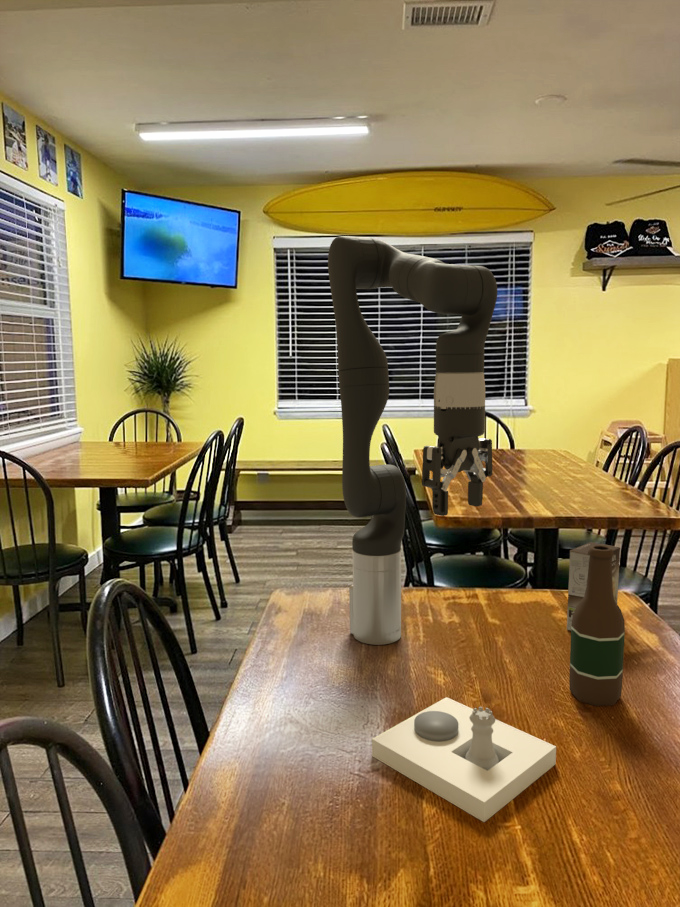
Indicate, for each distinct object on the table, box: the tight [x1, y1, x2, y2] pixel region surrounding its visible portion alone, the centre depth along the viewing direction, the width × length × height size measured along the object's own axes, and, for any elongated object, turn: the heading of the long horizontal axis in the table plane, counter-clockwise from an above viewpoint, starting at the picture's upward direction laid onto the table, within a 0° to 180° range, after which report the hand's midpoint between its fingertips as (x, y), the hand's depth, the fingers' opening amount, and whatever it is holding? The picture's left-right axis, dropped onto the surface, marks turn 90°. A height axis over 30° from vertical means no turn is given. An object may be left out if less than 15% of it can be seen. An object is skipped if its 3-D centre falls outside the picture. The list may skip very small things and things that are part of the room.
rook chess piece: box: [465, 706, 499, 771], centre depth 86 cm, size 4×4×8 cm
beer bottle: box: [568, 545, 626, 707], centre depth 103 cm, size 8×8×24 cm
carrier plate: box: [371, 696, 557, 823], centre depth 88 cm, size 18×16×4 cm
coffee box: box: [566, 541, 621, 632], centre depth 130 cm, size 9×6×16 cm
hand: (458, 510), depth 101 cm, fingers open, 8 cm apart
